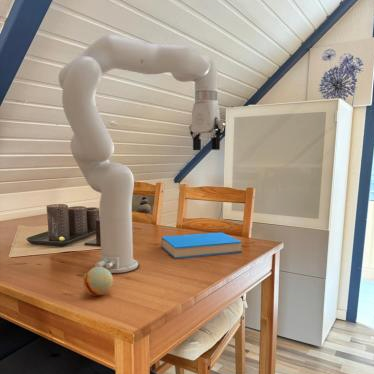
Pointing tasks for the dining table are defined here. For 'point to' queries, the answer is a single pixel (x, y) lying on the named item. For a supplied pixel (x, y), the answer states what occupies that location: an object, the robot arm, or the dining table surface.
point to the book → (200, 245)
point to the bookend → (96, 241)
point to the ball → (98, 281)
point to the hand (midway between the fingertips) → (206, 149)
